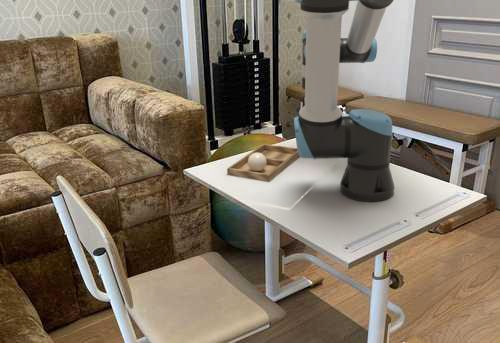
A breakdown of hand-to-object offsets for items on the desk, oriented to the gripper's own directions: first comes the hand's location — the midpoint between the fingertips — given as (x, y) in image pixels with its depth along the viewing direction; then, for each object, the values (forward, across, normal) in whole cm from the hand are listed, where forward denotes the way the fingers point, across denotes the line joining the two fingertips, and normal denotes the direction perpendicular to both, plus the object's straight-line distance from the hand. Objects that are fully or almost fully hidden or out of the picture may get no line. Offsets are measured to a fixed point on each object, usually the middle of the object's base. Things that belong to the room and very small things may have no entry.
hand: (312, 141), depth 175 cm
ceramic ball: (+3, +27, -8) cm, 28 cm away
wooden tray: (+4, +20, -8) cm, 22 cm away
